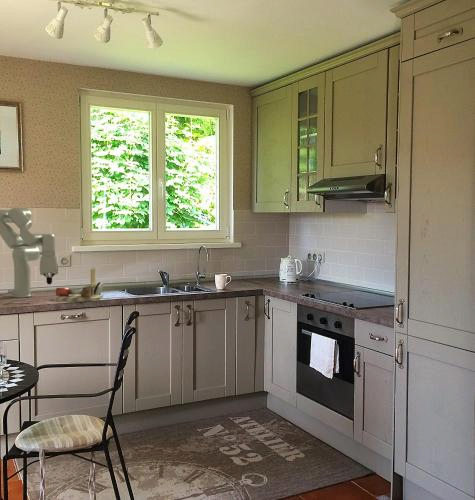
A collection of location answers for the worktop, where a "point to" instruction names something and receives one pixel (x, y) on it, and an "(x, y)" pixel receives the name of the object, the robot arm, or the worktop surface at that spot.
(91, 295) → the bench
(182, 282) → the worktop surface
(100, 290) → the hinge
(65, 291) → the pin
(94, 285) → the flap
